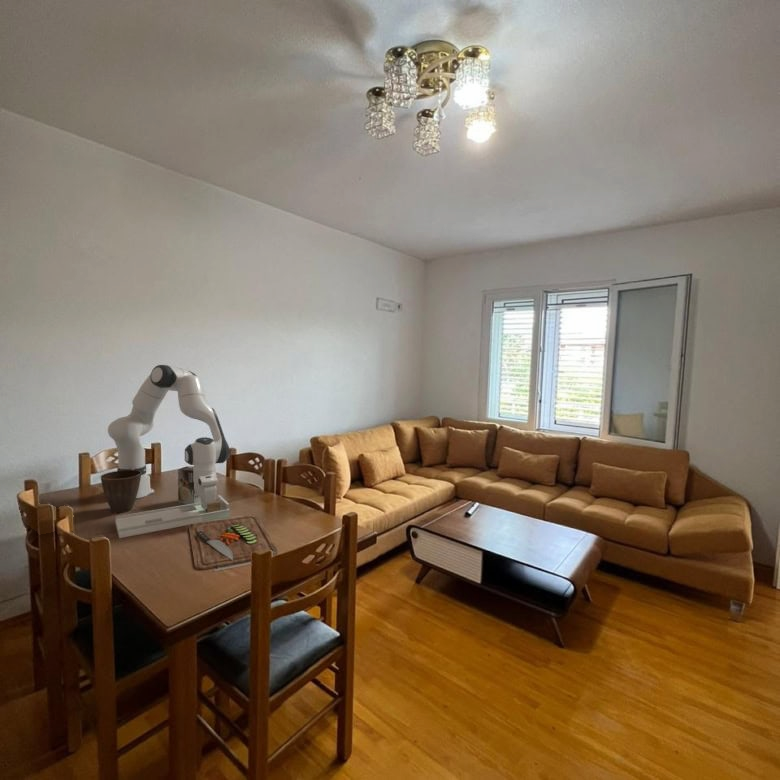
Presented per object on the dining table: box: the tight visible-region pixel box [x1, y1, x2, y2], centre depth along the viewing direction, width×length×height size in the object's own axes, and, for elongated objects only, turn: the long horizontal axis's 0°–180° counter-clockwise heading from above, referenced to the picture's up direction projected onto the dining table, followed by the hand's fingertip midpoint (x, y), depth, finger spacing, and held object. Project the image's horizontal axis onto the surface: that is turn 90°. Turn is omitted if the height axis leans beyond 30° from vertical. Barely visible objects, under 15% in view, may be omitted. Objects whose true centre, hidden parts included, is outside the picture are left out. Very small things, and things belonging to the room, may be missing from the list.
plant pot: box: [100, 470, 141, 514], centre depth 182 cm, size 15×15×16 cm
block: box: [205, 498, 220, 513], centre depth 180 cm, size 5×5×4 cm
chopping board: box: [188, 515, 279, 573], centre depth 157 cm, size 45×27×3 cm, turn 29°
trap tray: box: [115, 494, 231, 539], centre depth 173 cm, size 16×40×5 cm, turn 128°
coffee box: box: [177, 466, 201, 505], centre depth 196 cm, size 9×6×16 cm
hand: (204, 508), depth 178 cm, fingers closed, pressing on block
